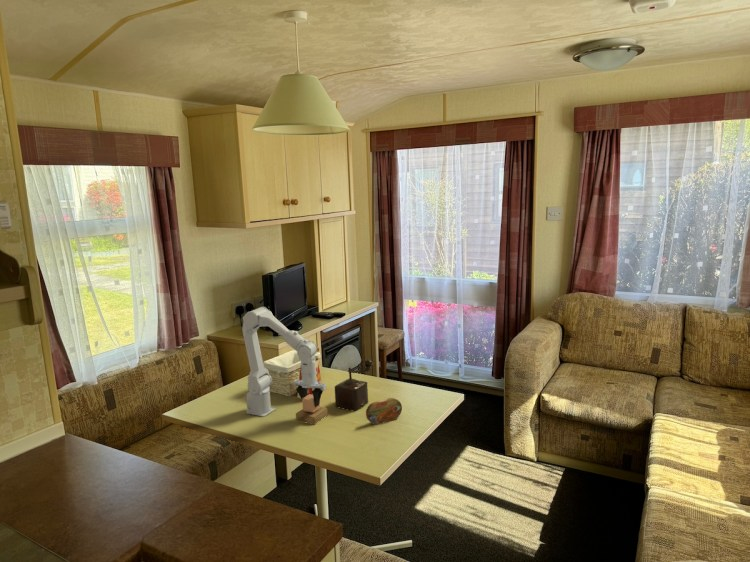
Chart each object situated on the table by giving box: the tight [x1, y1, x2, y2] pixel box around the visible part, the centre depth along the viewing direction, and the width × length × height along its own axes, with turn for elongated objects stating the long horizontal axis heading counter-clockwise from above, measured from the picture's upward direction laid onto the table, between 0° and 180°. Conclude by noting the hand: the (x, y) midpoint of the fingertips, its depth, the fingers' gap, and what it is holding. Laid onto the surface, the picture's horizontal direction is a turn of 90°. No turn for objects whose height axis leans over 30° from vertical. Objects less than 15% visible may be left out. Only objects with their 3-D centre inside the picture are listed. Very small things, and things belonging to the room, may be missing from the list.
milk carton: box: [297, 355, 323, 399], centre depth 230 cm, size 9×9×20 cm
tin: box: [365, 397, 403, 425], centre depth 202 cm, size 15×3×8 cm, turn 117°
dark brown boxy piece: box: [334, 359, 374, 412], centre depth 219 cm, size 16×11×18 cm
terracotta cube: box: [301, 394, 321, 413], centre depth 207 cm, size 5×5×5 cm
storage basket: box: [263, 349, 322, 397], centre depth 242 cm, size 24×16×15 cm
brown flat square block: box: [295, 406, 328, 425], centre depth 207 cm, size 9×9×3 cm
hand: (311, 404), depth 207 cm, fingers closed on terracotta cube, 5 cm apart
